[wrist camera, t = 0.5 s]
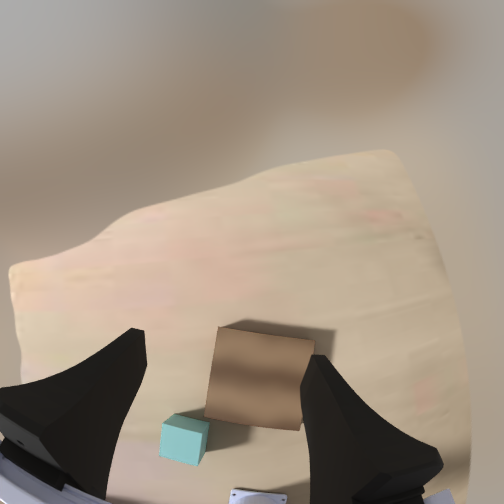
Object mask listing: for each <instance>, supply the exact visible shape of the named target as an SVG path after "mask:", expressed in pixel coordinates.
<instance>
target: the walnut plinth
mask: <svg viewBox="0 0 504 504" xmlns="http://www.w3.org/2000/svg"><path fill="white" fill-rule="evenodd" d="M314 346H315V340H307V339H299V338H290V337H282V336H275V335H268V334H261V333H254V332H248V331H241V330H235V329H229V328H223V327H218V331H217V337H216V343H215V349H214V355H213V361H212V367H211V373H210V380H209V386H208V392H207V399H206V405H205V412H204V417H207V418H211V419H216V420H221V421H226V422H232V423H238V424H244V425H250V426H257V427H265V428H274V429H283V430H294V431H299V430H300V426H301V421H302V416H303V415H302V410H301V401H300V385H301V382H302V379H303V377H304V374H305V371H306V369H307V366H308V363H309V360H310V357H311V355H312V354H313V353H314Z"/></svg>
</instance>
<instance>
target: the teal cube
mask: <svg viewBox="0 0 504 504" xmlns="http://www.w3.org/2000/svg"><path fill="white" fill-rule="evenodd" d="M209 424H210V422H206V421H201V420H197V419H193V418H188V417H185V416H181V415H177V414H173V415H172V416H171V417H170V418H168V419H167V420H166V421H165V422H163V423H162V432H161V442H160V452H159V456H162V457H165V458H169V459H172V460H175V461H179V462H183V463H186V464H190V465H194V466H198V465H199V463H200V461H201V459H202V457H203V455H204V454H205V450H206V444H207V437H208V430H209Z"/></svg>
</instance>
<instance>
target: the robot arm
mask: <svg viewBox="0 0 504 504" xmlns="http://www.w3.org/2000/svg"><path fill="white" fill-rule="evenodd" d="M146 367H147V357H146V346H145V334H144V330H139V329H135V328H130V329H129V330H128V331H126V332H125V333H123V334H122V335H121V336H119V337H118V338H117V339H115V340H114V341H113V342H111V343H110V344H108V345H107V346H106V347H104V348H103V349H101V350H100V351H98V352H97V353H95V354H94V355H92V356H91V357H89V358H87V359H86V360H84V361H82V362H81V363H79V364H77V365H75V366H73V367H71V368H69V369H67V370H65V371H63V372H60V373H58V374H55V375H53V376H50V377H47V378H45V379H42V380H38V381H35V382H31V383H27V384H22V385H18V386H11V387H2V388H0V432H1V433H2V434H3V436H4V437H5V438H4V440H3V441H1V440H0V500H1V501H2V502H4V503H5V504H112V503H109V502H107V501H104V500H105V498H106V490H107V484H108V477H109V472H110V468H111V463H112V459H113V455H114V451H115V447H116V443H117V440H118V437H119V433H120V430H121V427H122V424H123V422H124V420H125V417H126V415H127V413H128V411H129V409H130V407H131V405H132V402H133V400H134V398H135V396H136V394H137V392H138V390H139V387H140V385H141V383H142V380H143V377H144V374H145V371H146ZM300 401H301V410H302V415H303V421H304V426H305V431H306V437H307V442H308V448H309V457H310V504H455V502H454V499H453V497H452V494H451V492H450V489H446V490H443V491H441V492H438V493H436V494H433V495H431V496H429V497H427V498H425V499H423V498H422V495H421V494H423V493H424V492H425V490H424V487H423V485H425V484H426V483H427V482H428V481H430V480H431V479H432V478H433V477H435V476H436V475H437V474H438V473H439V472H440V471H441V470H442V468H443V465H444V463H443V461H442V459H441V457H440V454H439V452H438V450H437V448H435V447H432V446H430V445H428V444H425V443H423V442H421V441H418V440H416V439H415V438H413V437H411V436H409V435H407V434H405V433H404V432H402V431H400V430H399V429H397V428H396V427H394V426H393V425H392V424H390V423H389V422H387V421H386V420H385V419H383V418H382V417H381V416H380V415H378V414H377V413H376V412H375V411H374V410H373V409H371V408H370V407H369V406H368V405H367V404H366V403H365V402H364V401H363V400H362V399H361V398H360V397H359V396H358V395H357V394H356V393H355V392H354V390H353V389H352V388H351V387H350V386H349V385H348V384H347V382H346V381H345V380H344V379H343V377H342V376H341V375H340V374H339V372H338V371H337V370H336V369H335V367H334V366H333V365H332V364H331V362H330V361H329V360H328V358H327V357H326V356H325V355H313V354H312V355H311V357H310V360H309V363H308V366H307V369H306V371H305V374H304V377H303V379H302V382H301V385H300ZM233 494H236V495H233ZM282 499H284V500H282ZM286 501H287V495H286V494H274V493H263V492H254V491H246V490H239V489H232V490H231V495H230V500H229V504H286Z"/></svg>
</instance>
